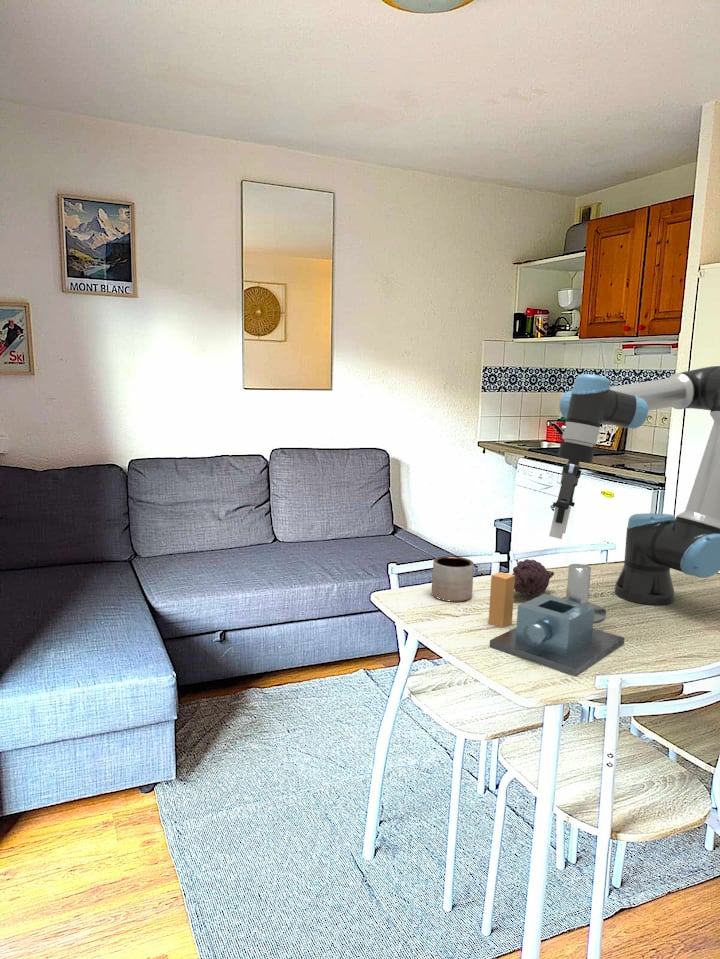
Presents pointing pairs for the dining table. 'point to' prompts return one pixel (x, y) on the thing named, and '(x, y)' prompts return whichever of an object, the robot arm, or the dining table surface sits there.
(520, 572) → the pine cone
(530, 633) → the grey square hole fixture
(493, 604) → the orange rectangular block
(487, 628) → the dining table surface
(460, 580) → the planter
